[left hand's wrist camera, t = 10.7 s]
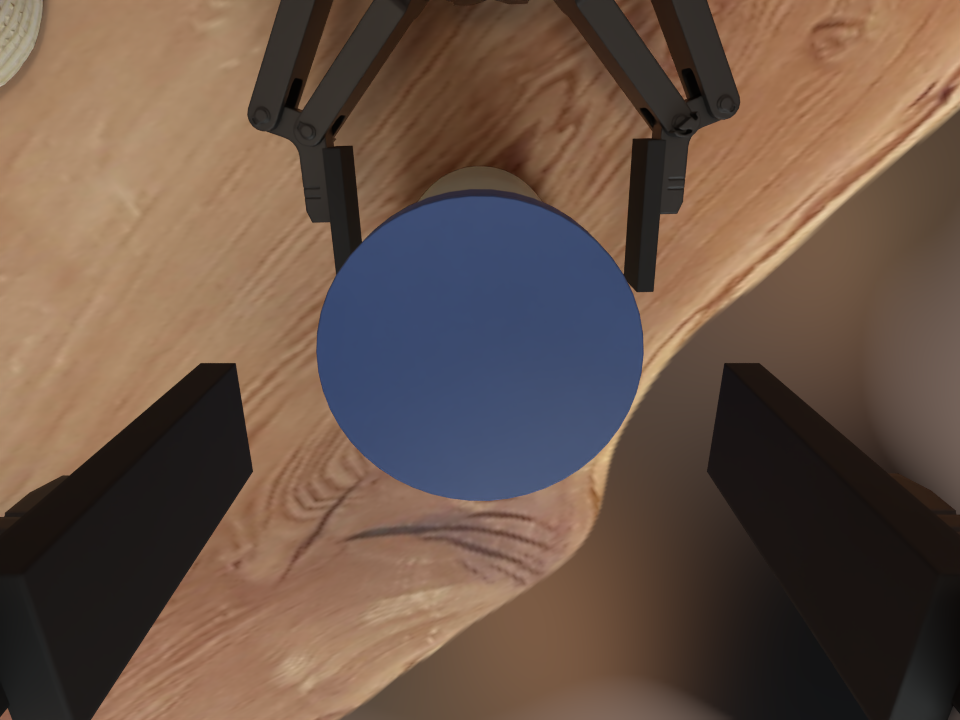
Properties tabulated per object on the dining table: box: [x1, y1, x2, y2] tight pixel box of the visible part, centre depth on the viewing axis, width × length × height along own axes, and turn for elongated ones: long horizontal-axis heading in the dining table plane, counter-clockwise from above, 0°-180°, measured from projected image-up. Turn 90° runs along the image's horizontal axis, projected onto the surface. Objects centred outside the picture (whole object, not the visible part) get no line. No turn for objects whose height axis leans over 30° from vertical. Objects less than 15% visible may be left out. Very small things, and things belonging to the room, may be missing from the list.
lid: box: [316, 189, 644, 501], centre depth 17 cm, size 9×9×2 cm
